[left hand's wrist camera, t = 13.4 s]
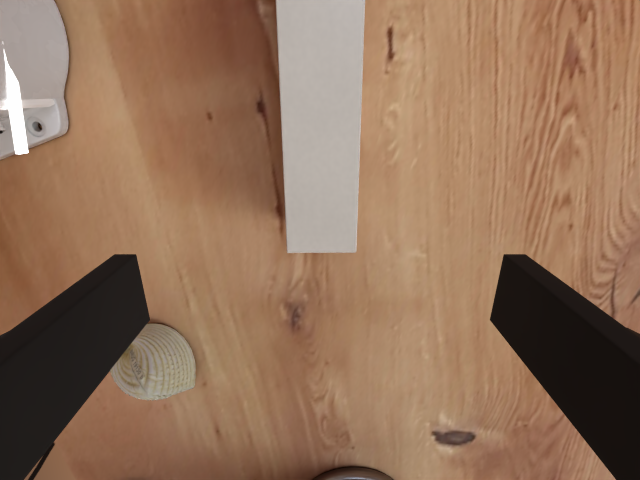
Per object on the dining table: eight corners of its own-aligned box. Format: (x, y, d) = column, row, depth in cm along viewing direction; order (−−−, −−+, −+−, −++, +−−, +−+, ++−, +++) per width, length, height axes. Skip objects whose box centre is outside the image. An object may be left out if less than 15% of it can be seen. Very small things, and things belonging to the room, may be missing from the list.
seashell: (139, 310, 36) (184, 368, 34) (179, 316, 44) (218, 363, 42) (76, 368, 35) (119, 433, 32) (129, 363, 43) (167, 415, 41)
